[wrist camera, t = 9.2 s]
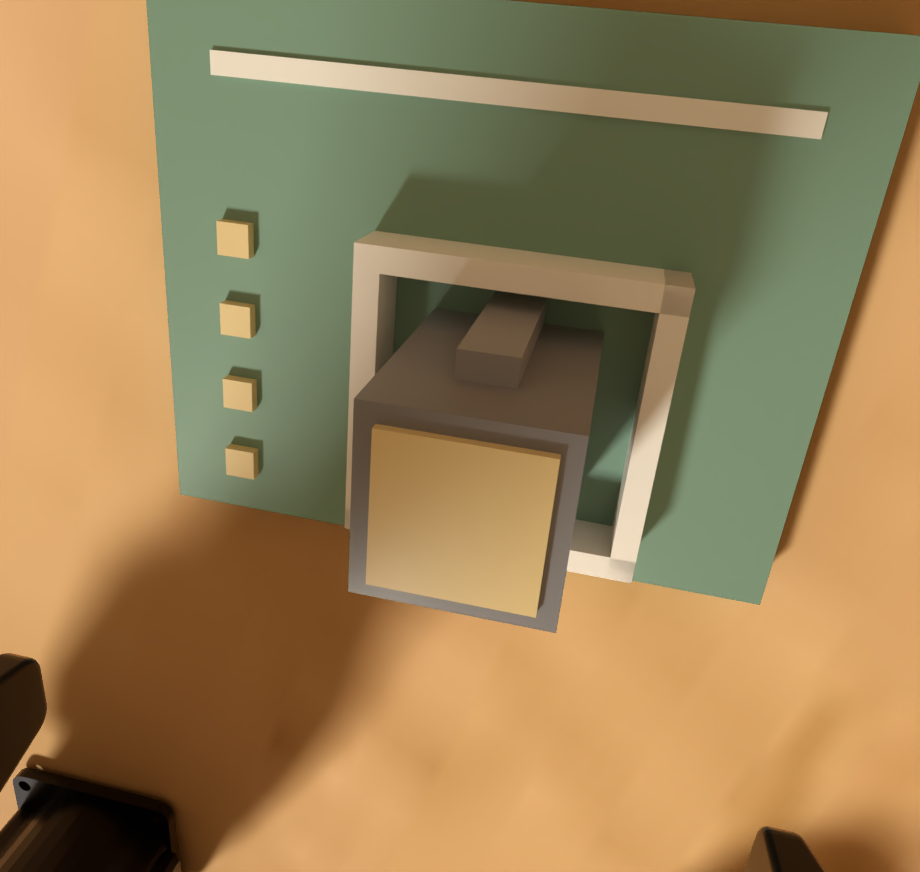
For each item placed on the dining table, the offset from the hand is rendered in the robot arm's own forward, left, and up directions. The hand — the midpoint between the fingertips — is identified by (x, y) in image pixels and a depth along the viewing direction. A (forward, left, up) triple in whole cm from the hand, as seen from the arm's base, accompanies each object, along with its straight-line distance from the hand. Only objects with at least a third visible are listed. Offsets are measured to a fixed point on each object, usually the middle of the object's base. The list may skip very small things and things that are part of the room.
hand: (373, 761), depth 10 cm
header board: (-1, +2, -12) cm, 13 cm away
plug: (0, 0, -11) cm, 11 cm away
